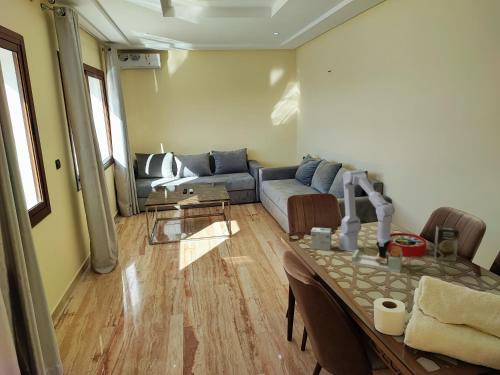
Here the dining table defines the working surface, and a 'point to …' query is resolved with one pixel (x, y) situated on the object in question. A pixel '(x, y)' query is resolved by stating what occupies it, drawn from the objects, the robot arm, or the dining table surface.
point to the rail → (369, 261)
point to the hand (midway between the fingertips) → (383, 255)
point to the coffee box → (446, 243)
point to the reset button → (396, 251)
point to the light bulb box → (321, 238)
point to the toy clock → (408, 244)
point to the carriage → (382, 258)
